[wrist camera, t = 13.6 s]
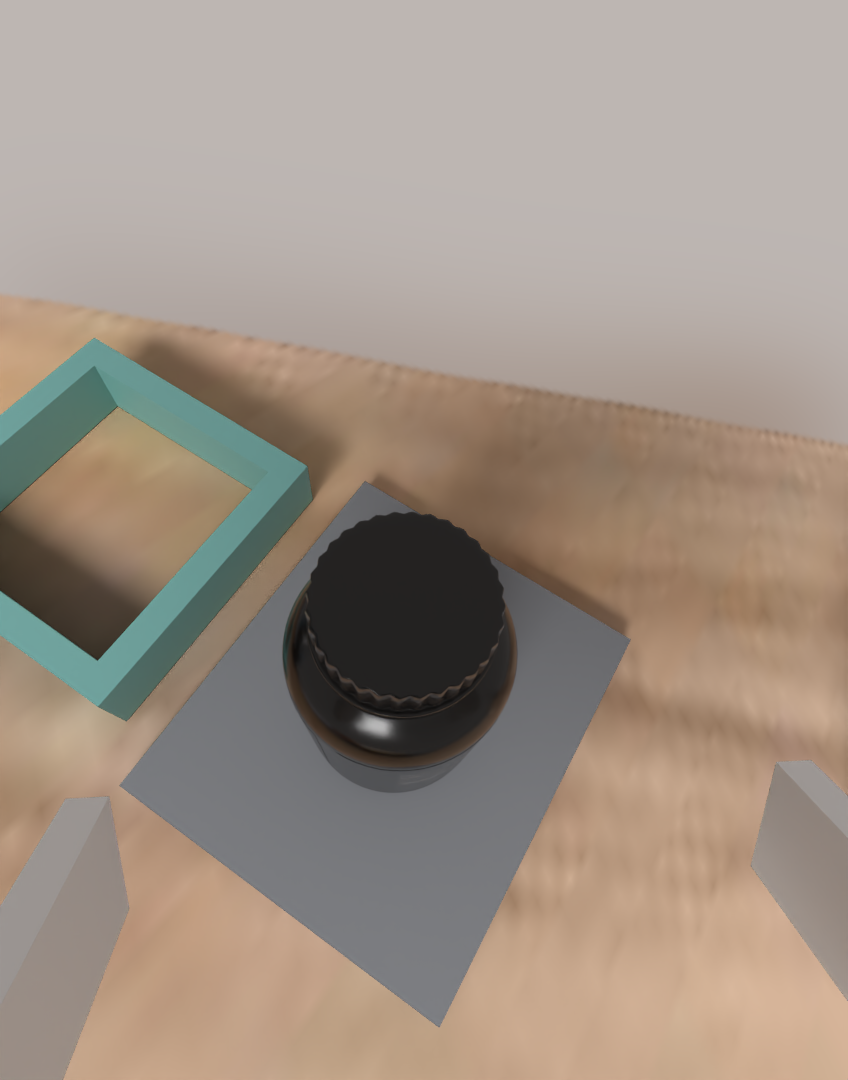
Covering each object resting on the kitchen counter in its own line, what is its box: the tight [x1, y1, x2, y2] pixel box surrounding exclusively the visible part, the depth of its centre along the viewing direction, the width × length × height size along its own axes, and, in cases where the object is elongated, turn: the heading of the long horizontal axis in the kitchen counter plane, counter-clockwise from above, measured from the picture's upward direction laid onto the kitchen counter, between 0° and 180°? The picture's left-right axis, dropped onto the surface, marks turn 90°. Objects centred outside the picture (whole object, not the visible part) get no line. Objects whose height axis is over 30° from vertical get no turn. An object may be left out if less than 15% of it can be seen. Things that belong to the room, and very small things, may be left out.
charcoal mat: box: [119, 481, 631, 1027], centre depth 26 cm, size 14×16×1 cm
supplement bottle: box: [282, 511, 518, 793], centre depth 20 cm, size 7×7×12 cm
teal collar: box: [0, 338, 313, 721], centre depth 28 cm, size 12×12×3 cm
